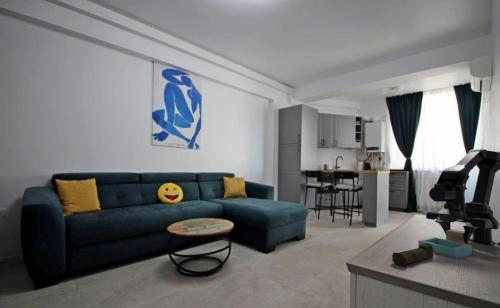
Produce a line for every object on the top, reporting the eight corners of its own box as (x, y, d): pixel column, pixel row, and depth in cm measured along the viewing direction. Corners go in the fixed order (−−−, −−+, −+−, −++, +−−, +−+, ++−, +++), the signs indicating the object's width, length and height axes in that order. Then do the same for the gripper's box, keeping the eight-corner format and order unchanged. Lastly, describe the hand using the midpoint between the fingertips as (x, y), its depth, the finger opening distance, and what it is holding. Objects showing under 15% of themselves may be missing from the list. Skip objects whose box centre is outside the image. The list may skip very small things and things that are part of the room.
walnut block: (453, 241, 92) (452, 229, 92) (469, 245, 87) (468, 232, 88) (446, 243, 90) (445, 230, 90) (462, 247, 85) (461, 233, 86)
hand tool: (404, 269, 66) (404, 252, 66) (391, 263, 70) (391, 248, 70) (442, 260, 73) (441, 245, 74) (428, 255, 77) (428, 242, 77)
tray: (435, 244, 88) (434, 237, 88) (472, 254, 78) (471, 245, 79) (418, 248, 84) (418, 240, 84) (455, 259, 74) (455, 249, 74)
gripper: (417, 199, 95) (419, 237, 94) (476, 205, 78) (479, 252, 77) (432, 198, 100) (434, 234, 98) (491, 204, 83) (494, 247, 82)
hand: (457, 241), depth 89 cm, fingers closed on walnut block, 5 cm apart
